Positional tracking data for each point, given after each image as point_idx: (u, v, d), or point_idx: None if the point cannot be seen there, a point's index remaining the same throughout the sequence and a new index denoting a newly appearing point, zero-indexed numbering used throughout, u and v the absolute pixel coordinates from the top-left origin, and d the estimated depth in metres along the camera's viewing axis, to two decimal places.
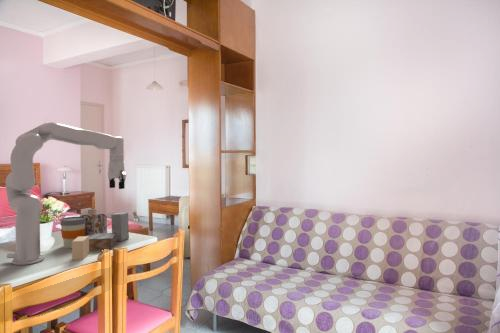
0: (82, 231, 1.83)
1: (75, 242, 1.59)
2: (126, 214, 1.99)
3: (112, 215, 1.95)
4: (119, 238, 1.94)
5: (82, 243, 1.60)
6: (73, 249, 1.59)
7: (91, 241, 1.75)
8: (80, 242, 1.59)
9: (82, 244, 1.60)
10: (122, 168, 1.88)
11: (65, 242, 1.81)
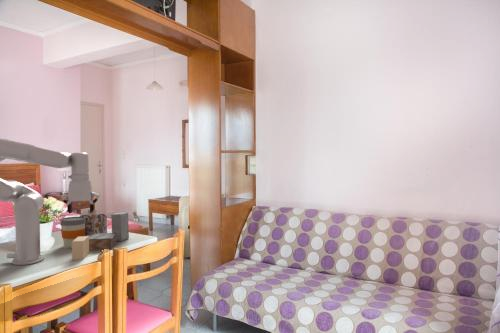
0: (82, 231, 1.83)
1: (75, 242, 1.59)
2: (126, 214, 1.99)
3: (112, 215, 1.95)
4: (119, 238, 1.94)
5: (82, 243, 1.60)
6: (73, 249, 1.59)
7: (91, 241, 1.75)
8: (80, 242, 1.59)
9: (82, 244, 1.60)
10: (91, 188, 1.65)
11: (65, 242, 1.81)
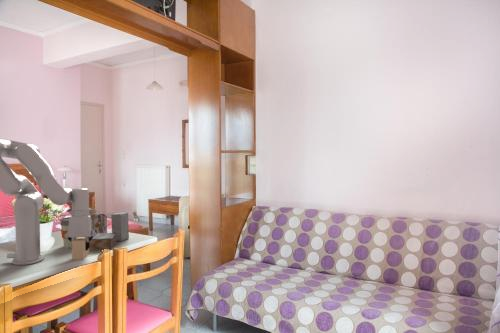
0: None
1: (75, 242, 1.59)
2: (126, 214, 1.99)
3: (112, 215, 1.95)
4: (119, 238, 1.94)
5: (82, 243, 1.60)
6: (73, 249, 1.59)
7: (91, 241, 1.75)
8: (80, 242, 1.59)
9: (82, 244, 1.60)
10: (91, 224, 1.66)
11: (65, 242, 1.81)
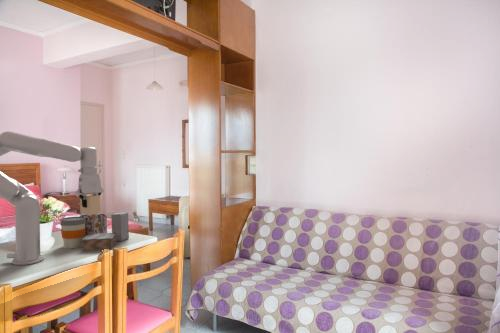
0: (82, 231, 1.83)
1: (93, 197, 1.68)
2: (126, 214, 1.99)
3: (112, 215, 1.95)
4: (119, 238, 1.94)
5: (99, 198, 1.70)
6: (91, 204, 1.67)
7: (91, 241, 1.75)
8: (97, 197, 1.69)
9: (99, 198, 1.70)
10: None
11: (65, 242, 1.81)
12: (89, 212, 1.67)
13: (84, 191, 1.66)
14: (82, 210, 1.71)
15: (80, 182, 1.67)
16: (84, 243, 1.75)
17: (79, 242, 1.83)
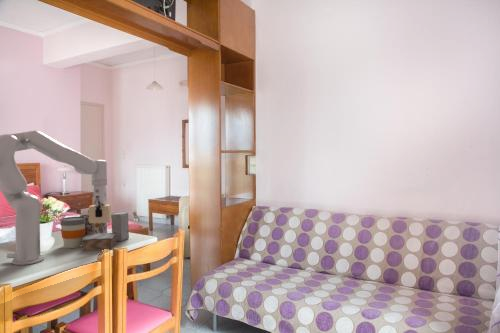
0: (82, 231, 1.83)
1: (109, 206, 1.82)
2: (126, 214, 1.99)
3: (112, 215, 1.95)
4: (119, 238, 1.94)
5: (110, 206, 1.85)
6: (109, 212, 1.81)
7: (91, 241, 1.75)
8: (110, 206, 1.84)
9: (110, 207, 1.85)
10: None
11: (65, 242, 1.81)
12: (106, 220, 1.80)
13: (103, 201, 1.78)
14: (93, 220, 1.79)
15: (98, 193, 1.77)
16: (84, 243, 1.75)
17: (79, 242, 1.83)
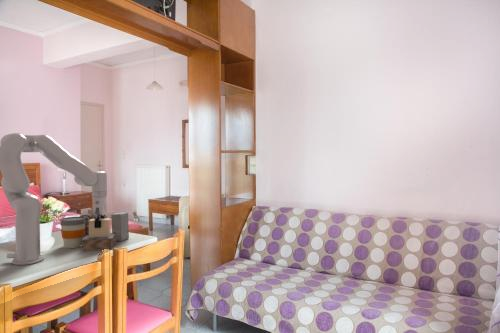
0: (82, 231, 1.83)
1: (109, 220, 1.82)
2: (126, 214, 1.99)
3: (112, 215, 1.95)
4: (119, 238, 1.94)
5: (110, 220, 1.85)
6: (108, 227, 1.81)
7: (91, 241, 1.75)
8: (110, 220, 1.84)
9: (110, 221, 1.85)
10: None
11: (65, 242, 1.81)
12: (106, 234, 1.80)
13: (103, 213, 1.78)
14: (93, 234, 1.79)
15: (98, 205, 1.77)
16: (84, 243, 1.75)
17: (79, 242, 1.83)
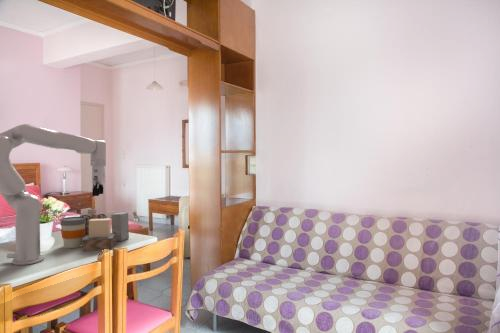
0: (82, 231, 1.83)
1: (109, 220, 1.82)
2: (126, 214, 1.99)
3: (112, 215, 1.95)
4: (119, 238, 1.94)
5: (110, 220, 1.85)
6: (108, 227, 1.81)
7: (91, 241, 1.75)
8: (110, 220, 1.84)
9: (110, 221, 1.85)
10: None
11: (65, 242, 1.81)
12: (106, 234, 1.80)
13: (101, 182, 1.77)
14: (93, 234, 1.79)
15: (97, 173, 1.75)
16: (84, 243, 1.75)
17: (79, 242, 1.83)
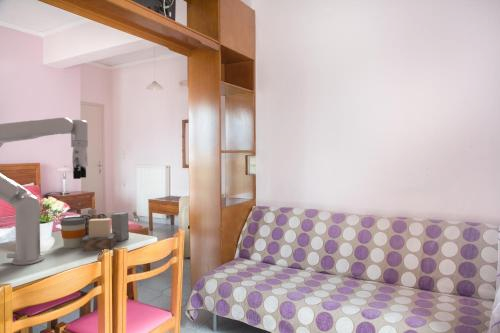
0: (82, 231, 1.83)
1: (109, 220, 1.82)
2: (126, 214, 1.99)
3: (112, 215, 1.95)
4: (119, 238, 1.94)
5: (110, 220, 1.85)
6: (108, 227, 1.81)
7: (91, 241, 1.75)
8: (110, 220, 1.84)
9: (110, 221, 1.85)
10: None
11: (65, 242, 1.81)
12: (106, 234, 1.80)
13: (83, 164, 1.66)
14: (93, 234, 1.79)
15: (78, 155, 1.65)
16: (84, 243, 1.75)
17: (79, 242, 1.83)
